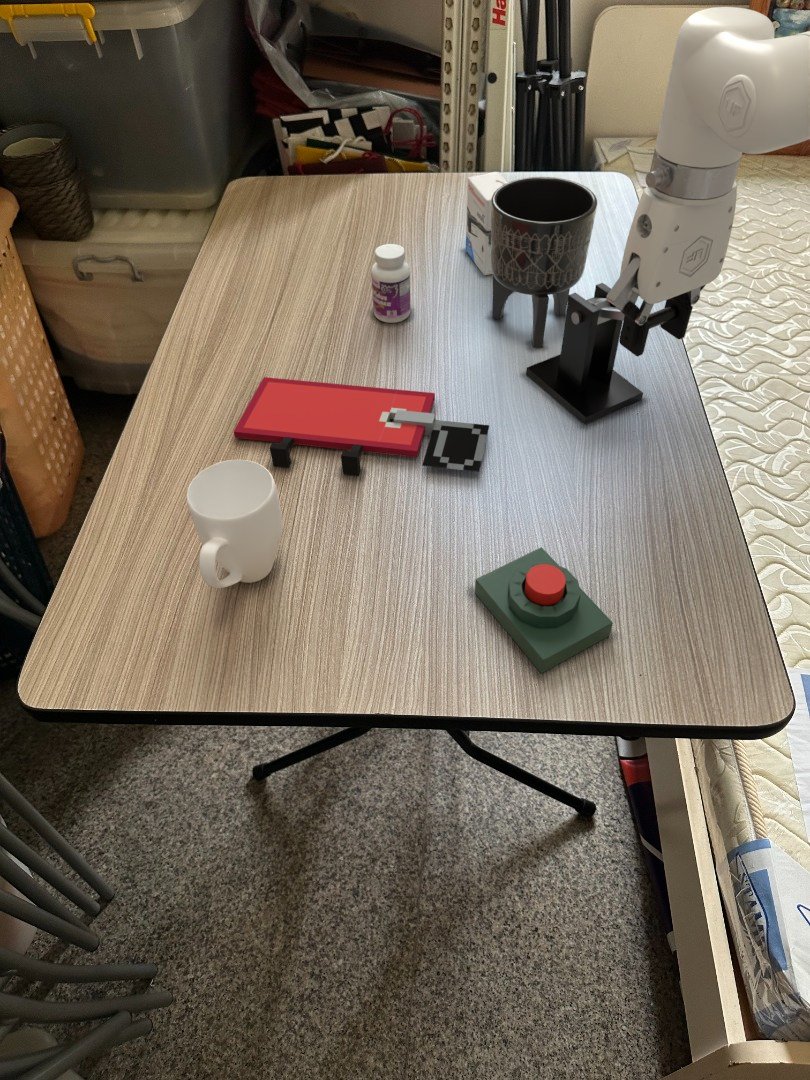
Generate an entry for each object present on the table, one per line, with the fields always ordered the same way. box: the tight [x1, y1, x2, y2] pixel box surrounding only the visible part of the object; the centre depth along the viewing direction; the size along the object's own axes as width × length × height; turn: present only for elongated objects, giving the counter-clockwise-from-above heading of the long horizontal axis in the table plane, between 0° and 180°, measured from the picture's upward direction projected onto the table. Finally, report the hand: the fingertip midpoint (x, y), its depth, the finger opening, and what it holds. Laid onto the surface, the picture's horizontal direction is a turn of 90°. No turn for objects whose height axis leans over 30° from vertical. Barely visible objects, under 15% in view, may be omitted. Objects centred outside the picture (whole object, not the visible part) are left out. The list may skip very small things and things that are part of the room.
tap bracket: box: [525, 282, 644, 426], centre depth 95 cm, size 12×9×13 cm
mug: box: [186, 459, 283, 589], centre depth 76 cm, size 12×8×11 cm
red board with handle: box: [233, 376, 490, 477], centre depth 94 cm, size 30×3×15 cm
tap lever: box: [586, 296, 679, 330], centre depth 88 cm, size 12×5×2 cm, turn 30°
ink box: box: [465, 171, 509, 276], centre depth 117 cm, size 8×5×12 cm, turn 17°
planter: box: [491, 176, 598, 349], centre depth 103 cm, size 13×13×18 cm
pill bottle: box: [370, 243, 411, 324], centre depth 109 cm, size 5×5×10 cm
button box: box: [474, 547, 614, 674], centre depth 75 cm, size 11×8×4 cm
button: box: [525, 564, 566, 606], centre depth 73 cm, size 4×4×2 cm
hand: (651, 339), depth 85 cm, fingers closed on tap lever, 5 cm apart
